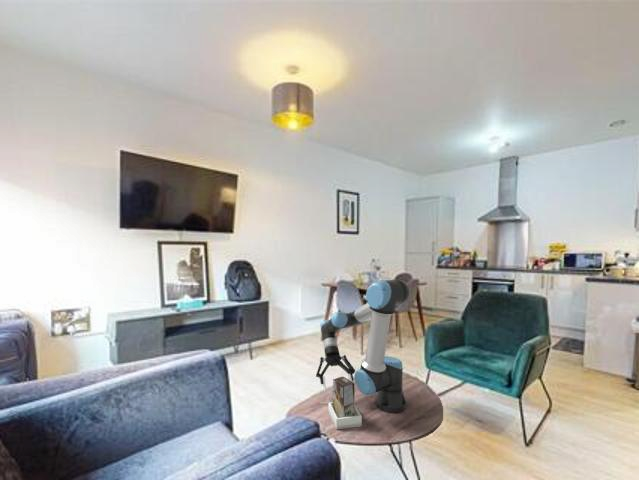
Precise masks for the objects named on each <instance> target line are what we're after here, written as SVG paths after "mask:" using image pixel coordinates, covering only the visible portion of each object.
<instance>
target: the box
mask: <svg viewBox="0 0 639 480" xmlns="http://www.w3.org/2000/svg"><path fill="white" fill-rule="evenodd" d="M328 414H329V416H330V418H331V421H332V422H333V425H334V428H335V429H336V430H342V429H350V428H357V427H358V428H359V427H362V426H363V425H362V424H363V420H362V418H363V416H362V415H361V413H360V411H359V410H358V408H357V406H356V405H355V416H351V417H343V418H338V417H337V416H336V414H335V411H334V409H333V401H330V402H328Z"/></svg>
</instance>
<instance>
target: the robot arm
mask: <svg viewBox="0 0 639 480" xmlns="http://www.w3.org/2000/svg"><path fill="white" fill-rule="evenodd" d="M365 293H366V294H365V298H366V301H367V302H366V303H365V304H363V305H361V306H360V307H358V308H357V309H355V310H353V311H351V312H348V313H344V312H341V311H338V312H336V313H335V314H334V315H333V316H331V318H330V319H325V320H324V321H323V320H322V322H320V332H321V337H322V338H321V339H322V343H323V349H324V355H325V357H323V356H321V357H320V358H319V366H318V368H317V371H316V374H315V377H316V378H319V380H320V381H319V382H320V385H322V387H323V392H324V393H327V392H326V391H327V385H326V378H325V376H324V375H325V373H326V371H327V370H328V368H329V367H337V366H338V367H340V368H341V369H342V370H343V371H344V372H346V373H347V374H348V375H347V379H348V380H350V381H351V382H354V384H355V385H356V388H357V389H358V390H359V392H361V394H363V395H364V396H371V395H374V394H375V398H374V404H375V405H374V406H375V407H376V408H377V409H379V410H381V411H384V412H386V413H401V412H403V411H405V410H406V408H407V399H406V398H405V394H404V390H403V374H404V373H403V372H404V370H403V369H404V368H403V363H402V361H401V359H399V358H396V357H394V356H393V357H392V356H387V355H386V349H387V345H388V338H389V331H390V325H391V318H392V316H394V314H396V309H397V307H398V306H399V305H403V304H404V303H406V302H407V301H408V300H409V299H410V297H411V289H410V286H409V285H408V283H407V282H405V281H404V280H402V279H389V280H378V281H374V282H373V283H371V284H370V285H369V286H368V288H367V290H366V292H365ZM369 319H370V325H369V330H368V338H367V343H366V344H367V345H366V352H365V357H364V358H363V359H362V360H361V361H360V368H359V369H357V370H356V369H355V367H353V365H352V364H351V362H350V361H349V360H348V358H347V355H342V356H341V354H340V349H339V347H338V346H339V345H338V339H337V335H336V334H337V333H339V331H341V330H343V329H347V328H351V327H357V326H361V325H363V324H364V323H365V321H367V320H369ZM385 355H386V356H385ZM324 362H326V365H325V366H324V368H323V369H322V366H323V363H324ZM343 362H344V363H343ZM321 369H322V370H321ZM353 374H354V375H353Z"/></svg>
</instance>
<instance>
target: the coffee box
mask: <svg viewBox="0 0 639 480" xmlns="http://www.w3.org/2000/svg"><path fill="white" fill-rule="evenodd" d="M332 388H333V389H332V390H333V391H332V402H333V409H334V411H335V414H336V416H337V417H338V418H343V417H351V416H355V406H356V405H355V404H356V403H355V382H354V381H352V382H351V381H350V380H349V379H348V377H345V376H340V377H339V376H338V377H336V378H333V379H332Z"/></svg>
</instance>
